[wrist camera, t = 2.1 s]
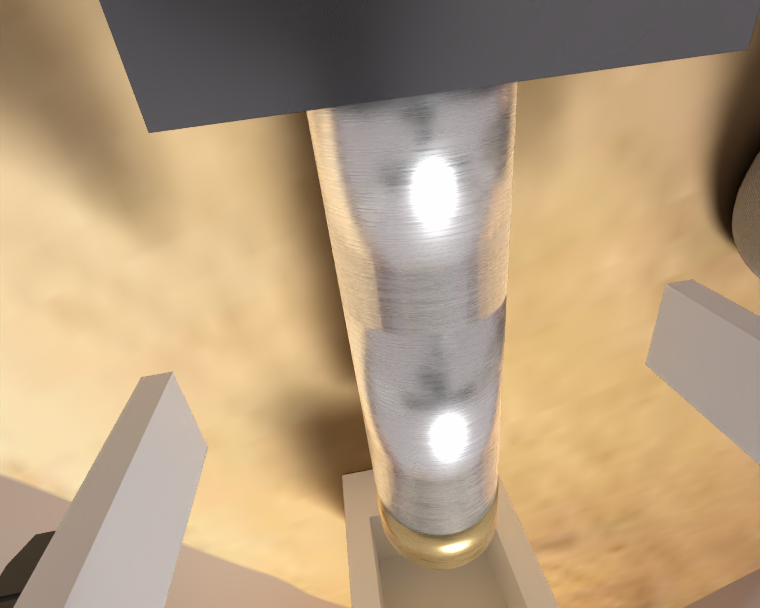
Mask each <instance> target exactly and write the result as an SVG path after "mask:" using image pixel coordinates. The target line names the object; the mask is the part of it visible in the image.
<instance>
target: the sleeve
mask: <svg viewBox="0 0 760 608" xmlns="http://www.w3.org/2000/svg"><path fill="white" fill-rule="evenodd" d="M99 1H100V4H101V6H102V9H103V12H104V14H105V17H106V20H107V22H108V25H109V28H110V30H111V33H112V36H113V38H114V41H115V44H116V46H117V49H118V52H119V54H120V57H121V60H122V62H123V65H124V68H125V70H126V73H127V76H128V79H129V81H130V84H131V87H132V89H133V92H134V95H135V97H136V100H137V103H138V105H139V108H140V111H141V113H142V116H143V119H144V121H145V124H146V127H147V129H148V132H149V133H153V132H160V131H167V130H174V129H181V128H189V127H196V126H203V125H210V124H217V123H224V122H232V121H239V120H246V119H253V118H260V117H268V116H275V115H282V114H289V113H296V112H303V111H311V110H318V109H325V108H332V107H339V106H347V105H354V104H361V103H368V102H375V101H382V100H390V99H397V98H404V97H411V96H418V95H425V94H433V93H440V92H447V91H454V90H461V89H469V88H476V87H483V86H490V85H497V84H504V83H512V82H519V81H526V80H533V79H540V78H548V77H555V76H562V75H569V74H576V73H583V72H591V71H598V70H605V69H612V68H619V67H626V66H634V65H641V64H648V63H655V62H662V61H670V60H677V59H684V58H691V57H698V56H705V55H713V54H720V53H727V52H734V51H741V50H748V47H749V43H750V40H751V37H752V33H753V30H754V26H755V23H756V19H757V16H758V13H759V9H760V0H99Z"/></svg>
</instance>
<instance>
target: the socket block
mask: <svg viewBox="0 0 760 608" xmlns="http://www.w3.org/2000/svg"><path fill="white" fill-rule="evenodd" d="M342 482H343V496H344V510H345V524H346V538H347V552H348V566H349V580H350V593H351V607H352V608H559V607H558V604H557V602H556V600H555V598H554V595H553V593H552V591H551V589H550V587H549V584H548V582H547V580H546V578H545V576H544V573H543V571H542V569H541V567H540V564H539V562H538V560H537V558H536V556H535V553H534V551H533V549H532V547H531V545H530V542H529V540H528V538H527V536H526V533H525V531H524V529H523V527H522V525H521V522H520V520H519V518H518V516H517V514H516V511H515V509H514V507H513V505H512V502H511V500H510V498H509V496H508V494H507V491H506V489H505V487H504V485H503V483H502V480H501V478H500V476H499V474H498V483H499V488H498V507H497V523H496V529H495V533H494V536H493V538H492V540H491V542H490V544H489V545H488V547H487V548H486V549H485V551H484V552H483V553H482V554H481V555H480V556H479V557H477V558H476V559H475V560H473V561H471V562H470V563H468V564H466V565H463V566H461V567H457V568H453V569H446V570H437V569H430V568H426V567H422V566H419V565H417V564H415V563H412V562H411V561H409V560H407V559H406V558H404V557H403V556H402V555H401V554H399V553H398V552H397V550H396V549H395V548H394V547H393V546H392V545H391V543H390V542H389V540H388V538H387V536H386V535H385V532H384V529H383V526H382V521H381V516H380V511H379V506H378V500H377V495H376V490H375V477H374V472H373V469H372V470H367V471H362V472H357V473H352V474H347V475H342Z"/></svg>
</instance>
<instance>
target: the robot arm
mask: <svg viewBox="0 0 760 608" xmlns="http://www.w3.org/2000/svg"><path fill="white" fill-rule="evenodd" d="M645 365H646V366H648V367H649V368H650V369H651V370H652V371H653V372H654V373H656V374H657V375H658V376H659V377H660V378H661V379H662V380H664V381H665V382H666V383H667V384H668V385H669V386H670V387H671V388H673V389H674V390H675V391H676V392H677V393H678V394H679V395H681V396H682V397H683V398H684V399H685V400H686V401H687V402H689V403H690V404H691V405H692V406H693V407H694V408H695V409H696V410H698V411H699V412H700V413H701V414H702V415H703V416H704V417H706V418H707V419H708V420H709V421H710V422H711V423H712V424H714V425H715V426H716V427H717V428H718V429H719V430H720V431H721V432H723V433H724V434H725V435H726V436H727V437H728V438H729V439H731V440H732V441H733V442H734V443H735V444H736V445H737V446H739V447H740V448H741V449H742V450H743V451H744V452H745V453H746V454H748V455H749V456H750V457H751V458H752V459H753V460H754V461H756V462H757V463H758V464H759V465H760V316H758V315H756V314H754V313H753V312H751V311H749V310H747V309H745V308H743V307H742V306H740V305H738V304H736V303H734V302H732V301H731V300H729V299H727V298H725V297H723V296H721V295H720V294H718V293H716V292H714V291H712V290H711V289H709V288H707V287H705V286H703V285H701V284H700V283H698V282H696V281H694V280H686V281H681V282H675V283H670V284H666V285H665V289H664V293H663V297H662V301H661V305H660V309H659V313H658V317H657V320H656V324H655V328H654V332H653V336H652V340H651V344H650V348H649V352H648V356H647V359H646V363H645ZM207 449H208V447H207V445H206V442H205V440H204V438H203V436H202V434H201V432H200V430H199V427H198V425H197V423H196V421H195V419H194V417H193V414H192V412H191V410H190V408H189V406H188V404H187V402H186V399H185V397H184V395H183V393H182V391H181V389H180V386H179V384H178V382H177V380H176V378H175V376H174V374H173V372H168V373H163V374H157V375H151V376H146V377H141V379H140V381H139V382H138V384H137V386H136V388H135V390H134V391H133V393H132V395H131V397H130V399H129V400H128V402H127V404H126V406H125V408H124V409H123V411H122V413H121V415H120V417H119V418H118V420H117V422H116V424H115V426H114V427H113V429H112V431H111V433H110V435H109V436H108V438H107V440H106V442H105V444H104V445H103V447H102V449H101V451H100V453H99V454H98V456H97V458H96V460H95V462H94V463H93V465H92V467H91V469H90V471H89V472H88V474H87V476H86V478H85V480H84V481H83V483H82V485H81V487H80V489H79V490H78V492H77V494H76V496H75V498H74V499H73V501H72V503H71V505H70V507H69V508H68V510H67V512H66V514H65V516H64V518H63V519H62V521H61V523H60V525H59V527H58V528H57V530H56V531H52V532H46V533H42V534H36V535H35V536H34V537H33V538H32V539H31V540H30V541H29V542H28V543H27V545H26V546H25V547H24V548H23V549H22V550H21V551H20V552H19V553H18V554H17V555H16V556H15V557H14V558H13V559H12V560H11V562H9V564H8V565H7V566H6V567H5V569H4V571H3V572H2V574H1V576H0V608H164V606H165V602H166V598H167V595H168V591H169V588H170V584H171V580H172V577H173V573H174V569H175V566H176V562H177V558H178V555H179V551H180V548H181V544H182V540H183V537H184V533H185V529H186V526H187V522H188V519H189V515H190V511H191V508H192V504H193V500H194V497H195V493H196V489H197V486H198V482H199V479H200V475H201V471H202V468H203V464H204V460H205V457H206V453H207Z"/></svg>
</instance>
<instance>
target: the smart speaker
mask: <svg viewBox="0 0 760 608" xmlns="http://www.w3.org/2000/svg"><path fill="white" fill-rule="evenodd" d="M732 232H733V238H734V242H735V245H736V247H737V249H738V252H739V254H740V256H741V257H742V259H743V260H744V262H745V264H746V265H747V266H748V267H749V268H750V270H751V271H752V272H753V273H754V274H755V275H756V276H757V277H758V278H760V151H759V153H758V154H757V156H756V157H755V159H754V160H753V162H752V164H751V165H750V167H749V169H748V171H747V172H746V174H745V176H744V178H743V181H742V183H741V185H740V188H739V191H738V194H737V197H736V201H735V205H734V210H733V216H732Z"/></svg>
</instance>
